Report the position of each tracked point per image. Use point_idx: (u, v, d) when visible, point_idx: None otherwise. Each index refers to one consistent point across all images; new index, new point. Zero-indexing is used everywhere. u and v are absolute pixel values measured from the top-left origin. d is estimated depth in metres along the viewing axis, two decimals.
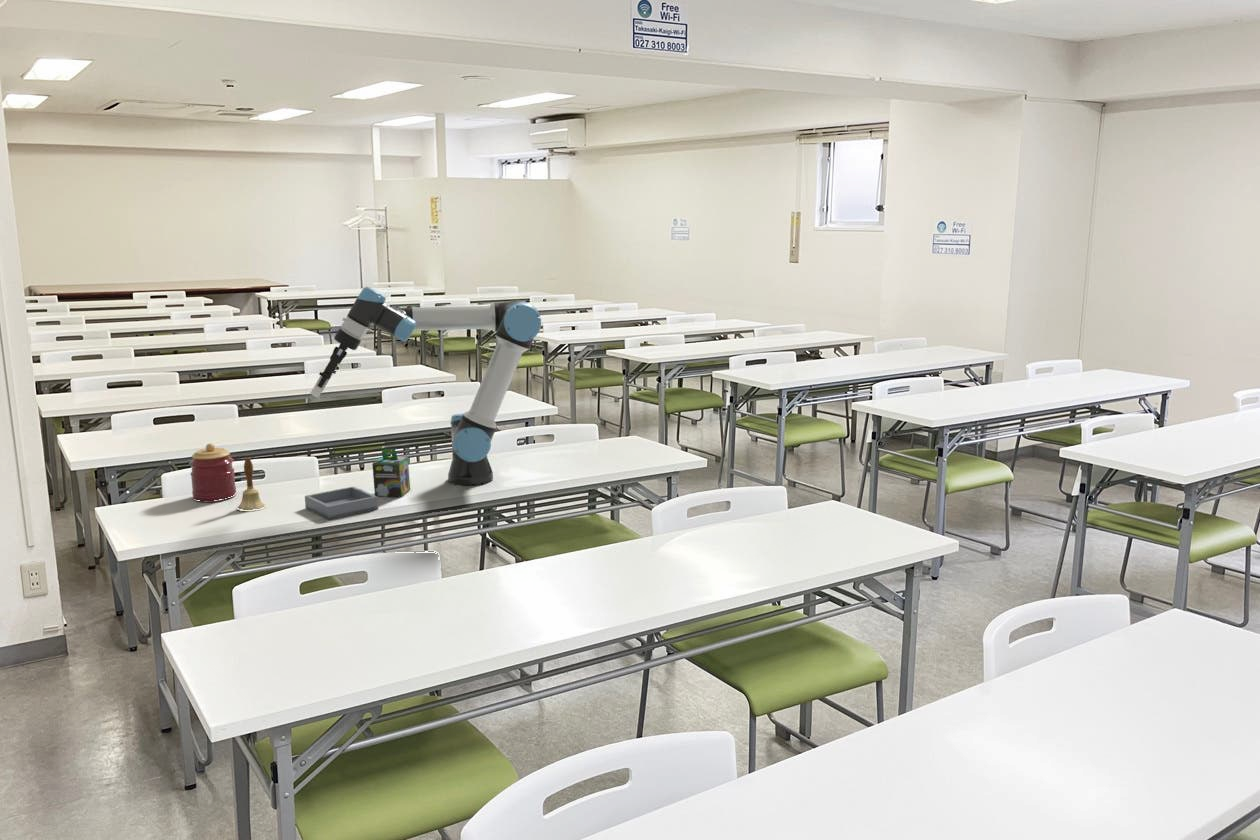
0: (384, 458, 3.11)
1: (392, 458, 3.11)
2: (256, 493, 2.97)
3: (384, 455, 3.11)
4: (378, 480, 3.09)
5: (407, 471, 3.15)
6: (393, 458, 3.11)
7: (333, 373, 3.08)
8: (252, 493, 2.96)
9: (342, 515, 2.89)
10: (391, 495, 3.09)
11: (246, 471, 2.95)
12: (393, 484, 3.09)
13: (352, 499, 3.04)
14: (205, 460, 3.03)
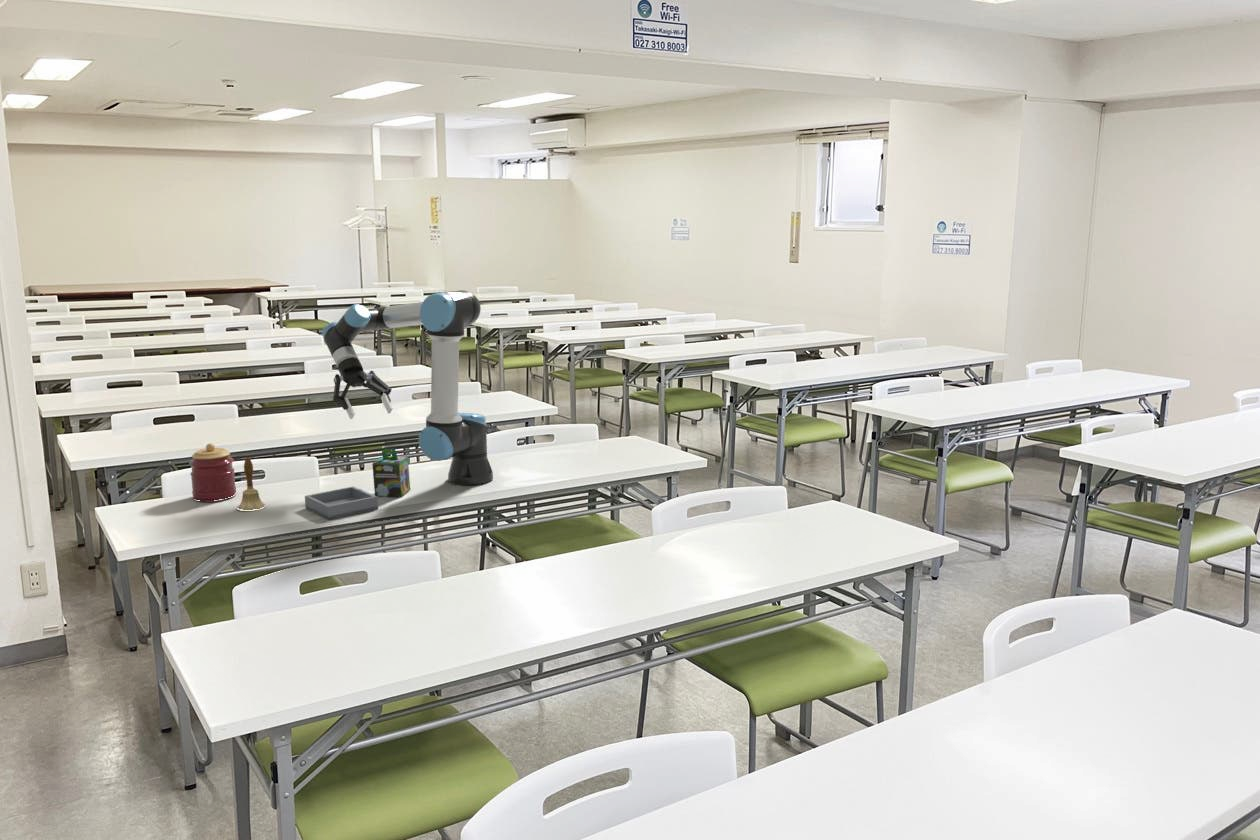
0: (384, 458, 3.11)
1: (392, 458, 3.11)
2: (256, 493, 2.97)
3: (384, 455, 3.11)
4: (378, 480, 3.09)
5: (407, 471, 3.15)
6: (393, 458, 3.11)
7: (386, 392, 3.23)
8: (252, 493, 2.96)
9: (342, 515, 2.89)
10: (391, 495, 3.09)
11: (246, 471, 2.95)
12: (393, 484, 3.09)
13: (352, 499, 3.04)
14: (205, 460, 3.03)
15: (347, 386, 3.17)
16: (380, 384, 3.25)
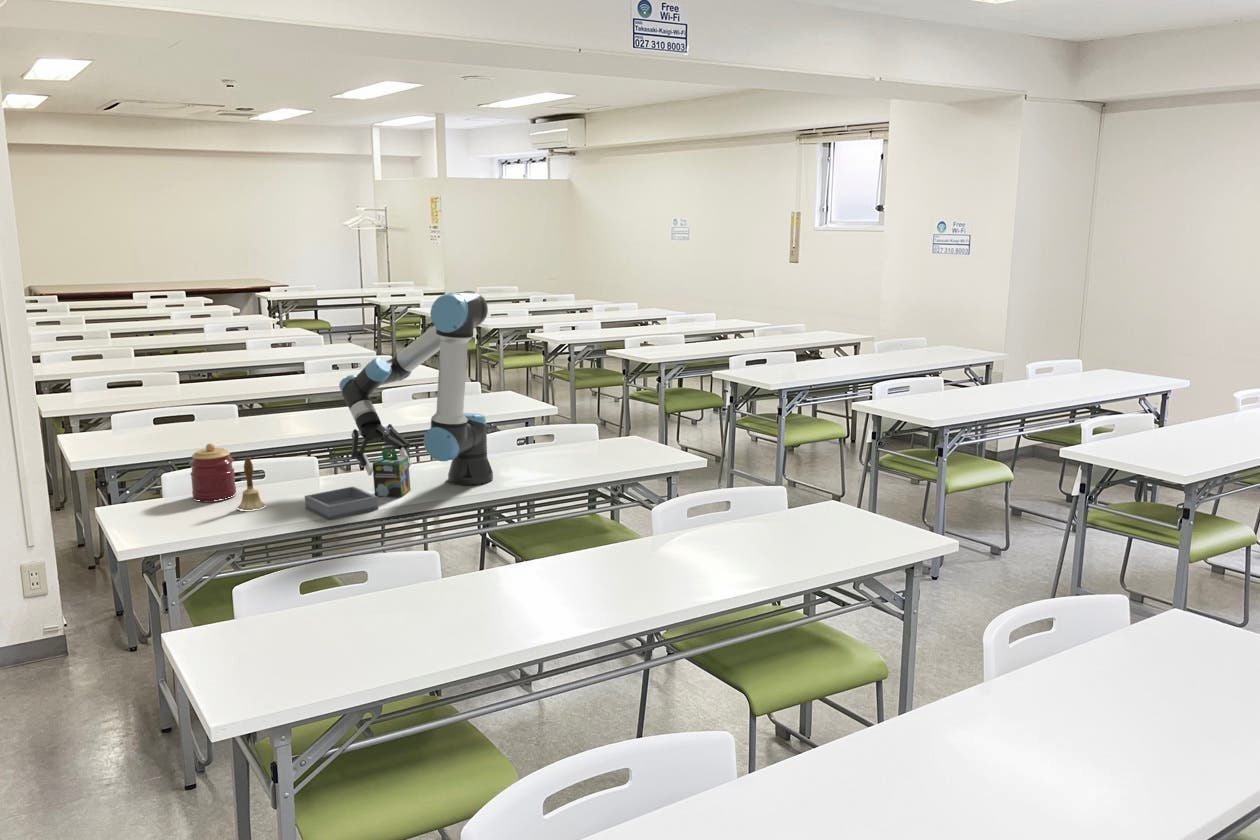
0: (384, 458, 3.11)
1: (392, 458, 3.11)
2: (256, 493, 2.97)
3: (384, 455, 3.11)
4: (378, 480, 3.09)
5: (407, 471, 3.15)
6: (394, 458, 3.11)
7: (405, 446, 3.19)
8: (252, 493, 2.96)
9: (342, 515, 2.89)
10: (391, 495, 3.09)
11: (246, 471, 2.95)
12: (393, 484, 3.09)
13: (352, 499, 3.04)
14: (205, 460, 3.03)
15: (365, 441, 3.12)
16: (398, 438, 3.21)
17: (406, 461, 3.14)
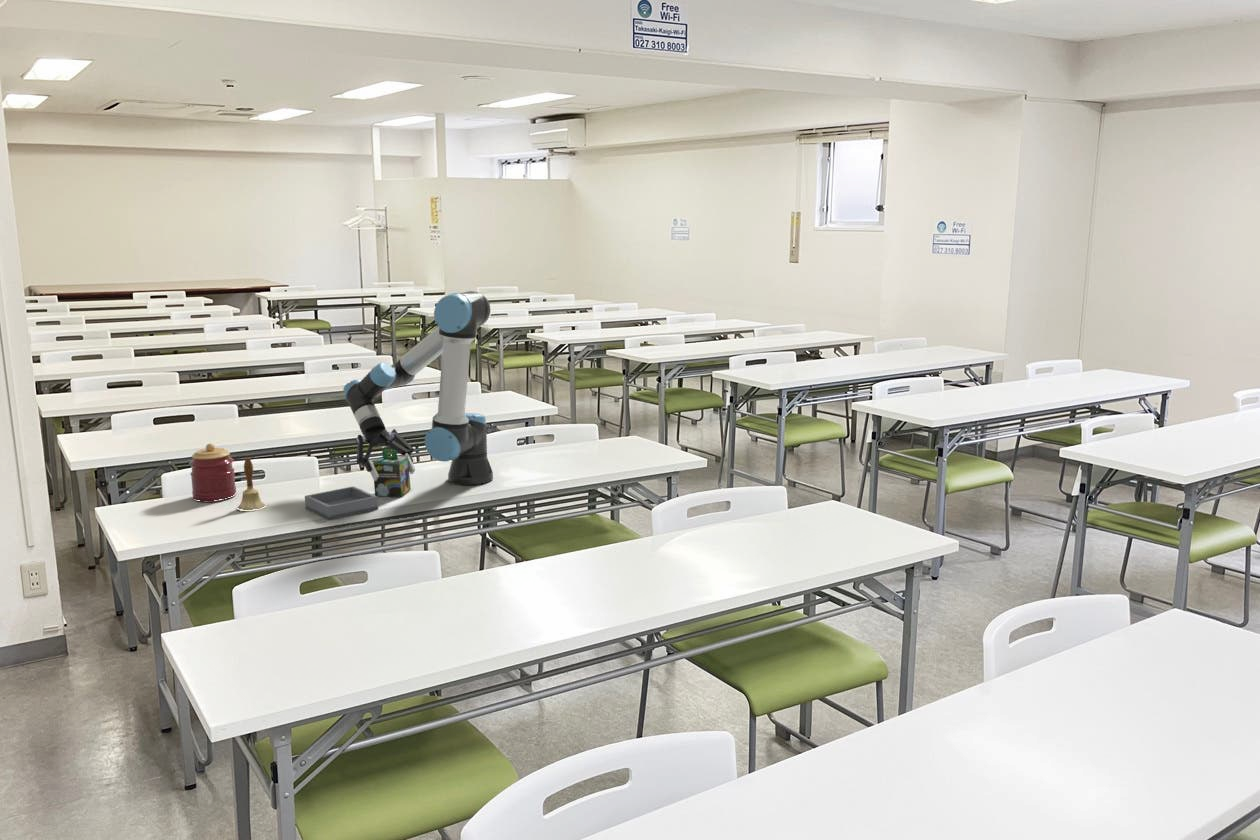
0: (384, 458, 3.11)
1: (392, 458, 3.11)
2: (256, 493, 2.97)
3: (384, 455, 3.11)
4: (378, 480, 3.09)
5: (407, 471, 3.15)
6: (394, 458, 3.11)
7: (408, 452, 3.17)
8: (252, 493, 2.96)
9: (342, 515, 2.89)
10: (391, 495, 3.09)
11: (246, 471, 2.95)
12: (393, 484, 3.09)
13: (352, 499, 3.04)
14: (205, 460, 3.03)
15: (370, 447, 3.11)
16: (402, 443, 3.19)
17: (406, 461, 3.14)
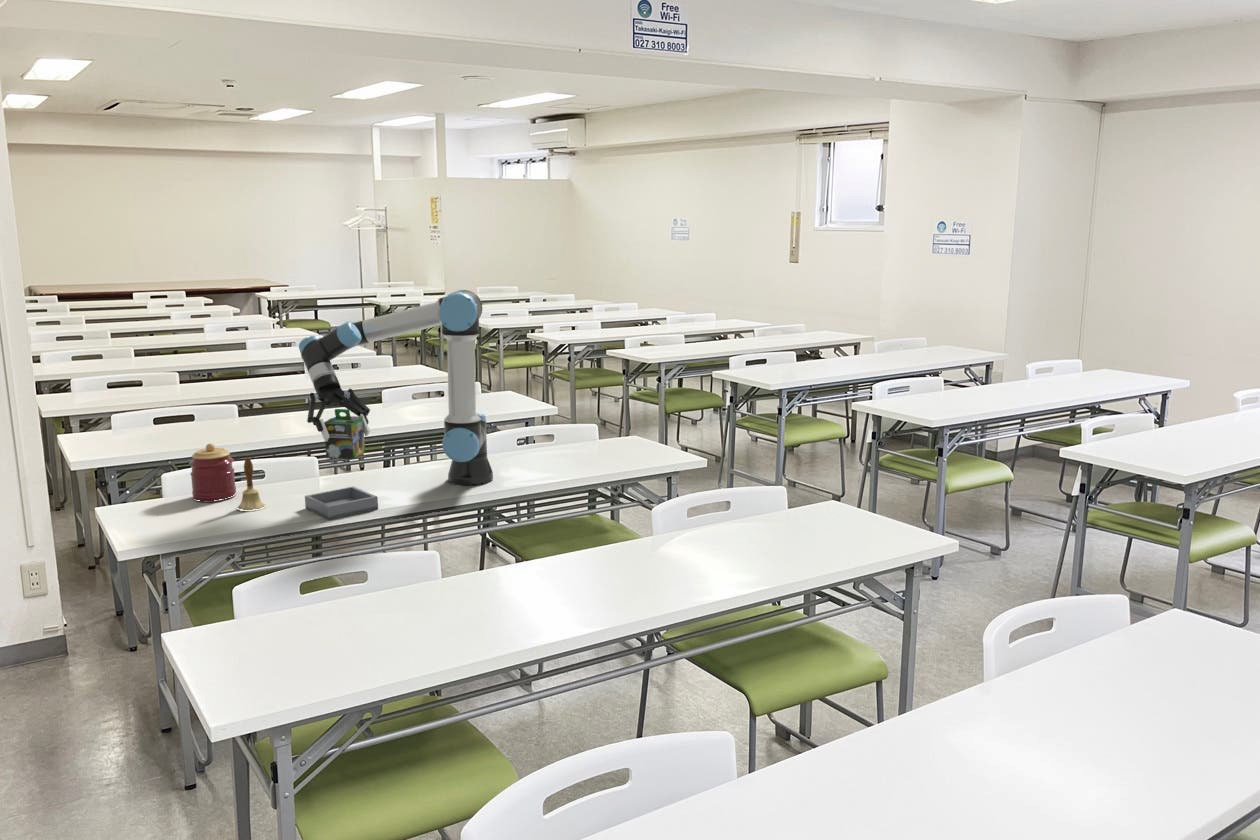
0: (337, 418, 2.96)
1: (345, 418, 2.96)
2: (256, 493, 2.97)
3: (337, 414, 2.96)
4: (329, 441, 2.94)
5: (362, 432, 3.00)
6: (347, 418, 2.96)
7: (364, 413, 3.02)
8: (252, 493, 2.96)
9: (342, 515, 2.89)
10: (343, 457, 2.94)
11: (246, 471, 2.95)
12: (345, 445, 2.93)
13: (352, 499, 3.04)
14: (205, 460, 3.03)
15: (322, 406, 2.96)
16: (358, 404, 3.04)
17: (360, 422, 2.98)
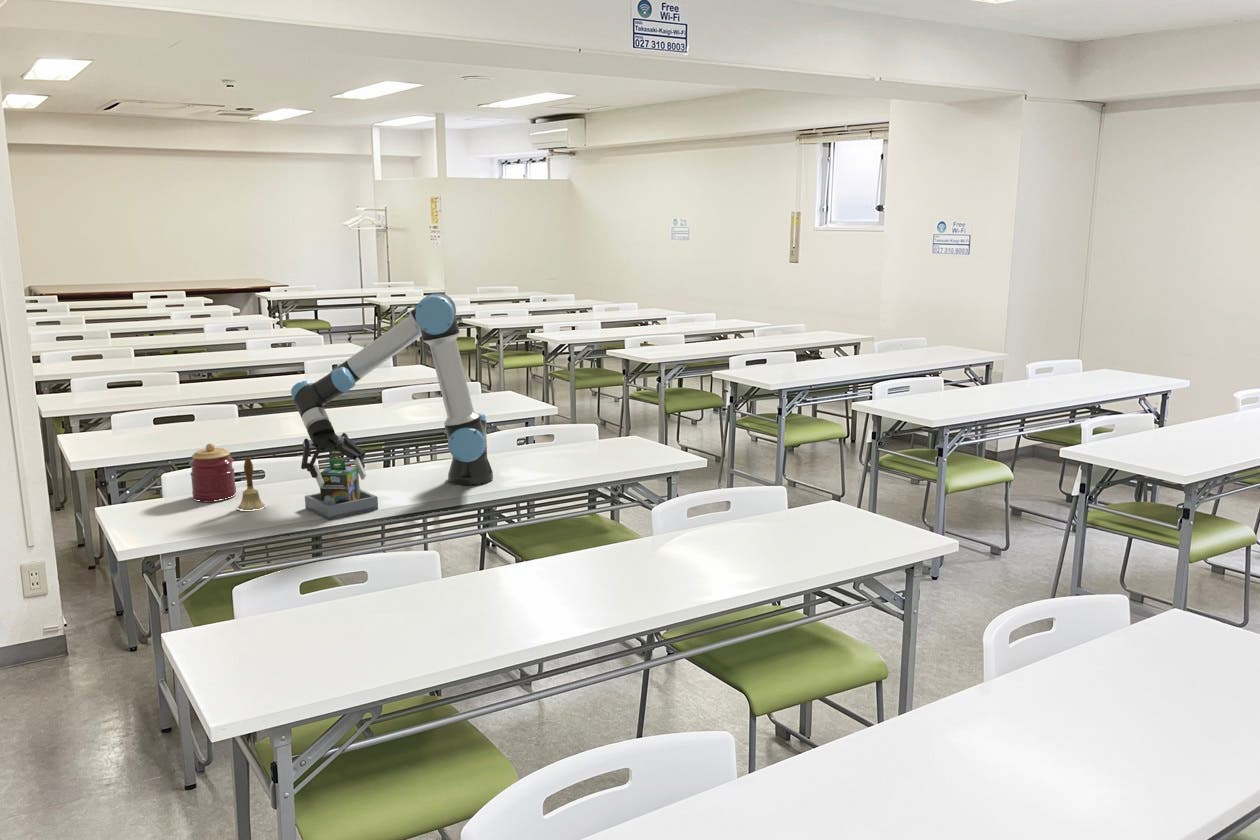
0: (332, 468, 2.94)
1: (340, 468, 2.94)
2: (256, 493, 2.97)
3: (332, 465, 2.94)
4: (325, 492, 2.92)
5: (357, 481, 2.98)
6: (342, 468, 2.94)
7: (359, 456, 3.00)
8: (252, 493, 2.96)
9: (342, 515, 2.89)
10: None
11: (246, 471, 2.95)
12: (340, 496, 2.92)
13: None
14: (205, 460, 3.03)
15: (317, 451, 2.94)
16: (353, 447, 3.02)
17: (355, 471, 2.97)
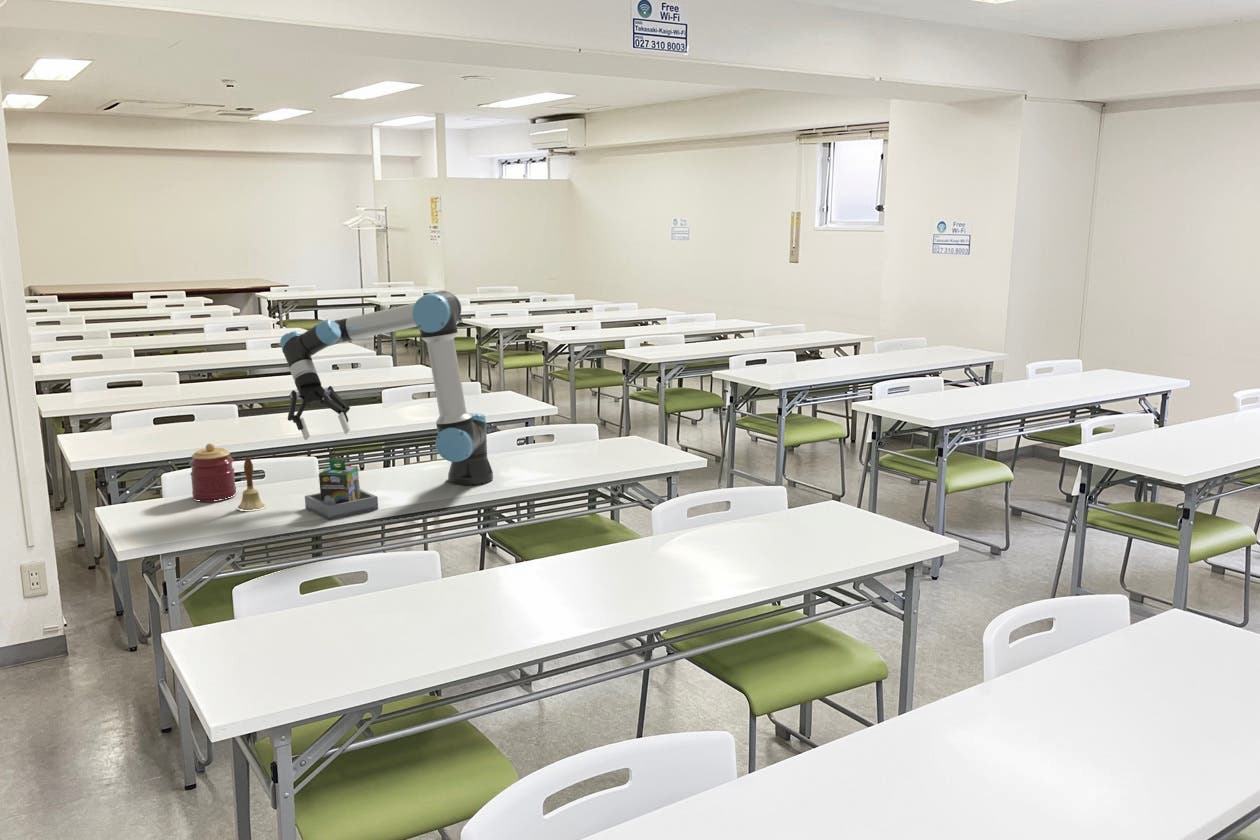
0: (332, 468, 2.94)
1: (340, 468, 2.94)
2: (256, 493, 2.97)
3: (332, 465, 2.94)
4: (325, 492, 2.92)
5: (357, 481, 2.98)
6: (342, 468, 2.94)
7: (344, 411, 3.11)
8: (252, 493, 2.96)
9: (342, 515, 2.89)
10: None
11: (246, 471, 2.95)
12: (340, 496, 2.92)
13: None
14: (205, 460, 3.03)
15: (303, 404, 3.04)
16: (338, 401, 3.13)
17: (355, 471, 2.97)
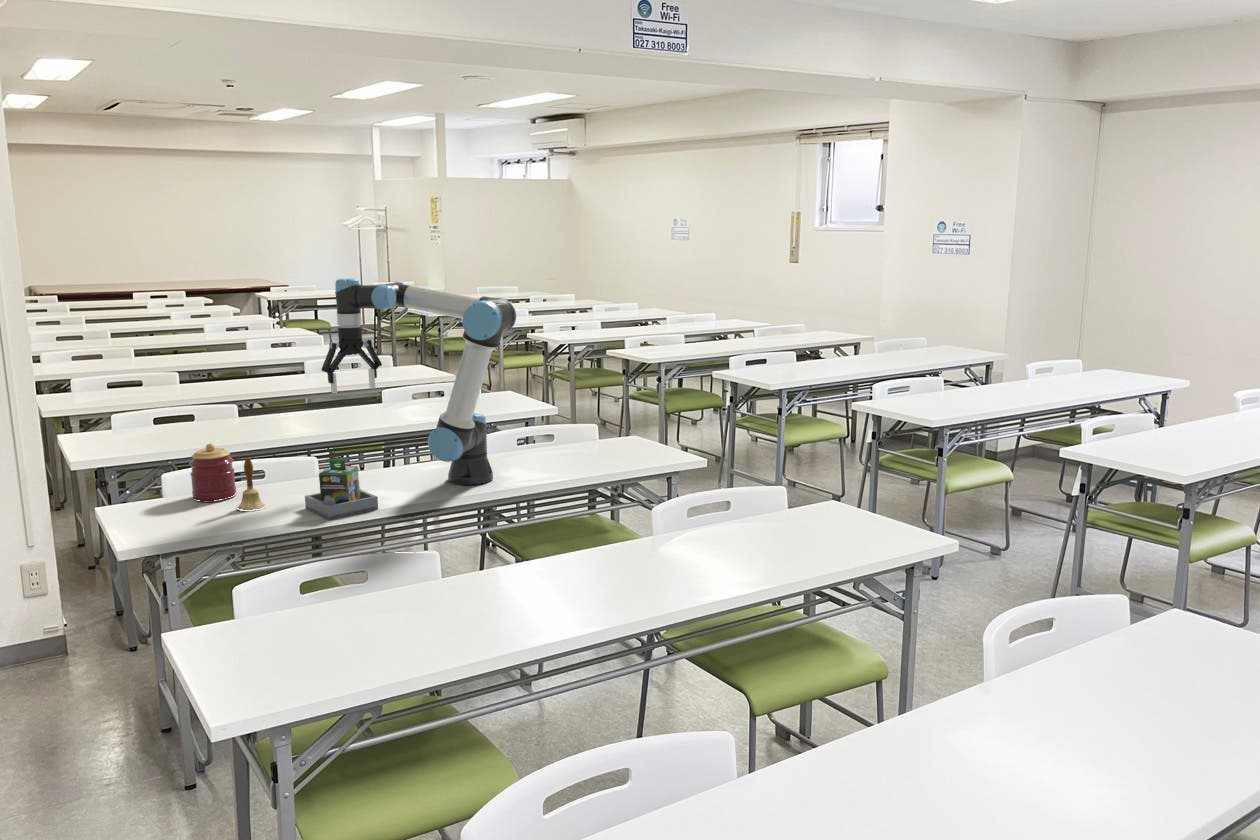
0: (332, 468, 2.94)
1: (340, 468, 2.94)
2: (256, 493, 2.97)
3: (332, 465, 2.94)
4: (325, 492, 2.92)
5: (357, 481, 2.98)
6: (342, 468, 2.94)
7: (375, 368, 3.23)
8: (252, 493, 2.96)
9: (342, 515, 2.89)
10: None
11: (246, 471, 2.95)
12: (340, 496, 2.92)
13: None
14: (205, 460, 3.03)
15: (340, 358, 3.14)
16: (373, 356, 3.23)
17: (355, 471, 2.97)
